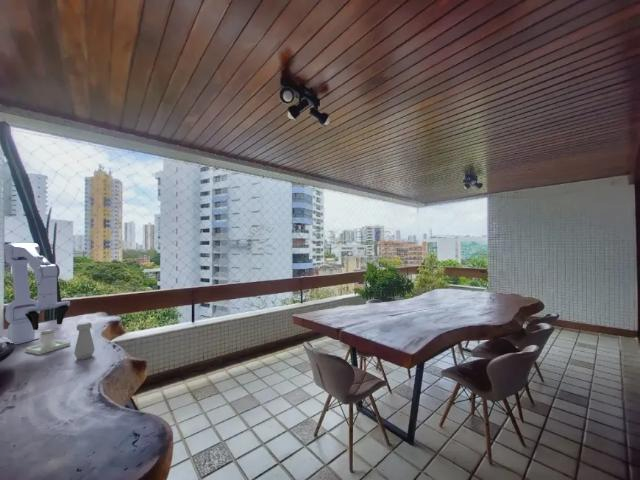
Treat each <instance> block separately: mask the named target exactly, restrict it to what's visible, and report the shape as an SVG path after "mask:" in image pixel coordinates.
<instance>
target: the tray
mask: <svg viewBox="0 0 640 480" xmlns="http://www.w3.org/2000/svg"><path fill="white" fill-rule="evenodd" d="M67 346H68V347H71V342H70V341H66V340H60V339H56V346H54V347H50V348H47V349H43V350H41V345H40V343H39V344H36V345H32V346H29V347H25V348H24V349H25V352H26V353H29V354H33V355H38V356H40V355H43V354H47V353H51V352H54V351H57V350H61V349H64V348H68V347H67Z"/></svg>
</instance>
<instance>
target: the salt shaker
mask: <svg viewBox="0 0 640 480" xmlns="http://www.w3.org/2000/svg"><path fill="white" fill-rule="evenodd" d="M92 327H93V325H92V322H89V321H87V322H86V321H84V322H80V323H78V324H77V325H76V330H77V331H78V336H77V339H76V340H77V341H76V345H75V349H74V353H73V354H74V356H75V357H76V359H77V360H79V361H82V360H86V359H87V360H88V359H90V358H92V357H93V355H94V353H95V345H94V341H93V337H92V333H91V329H92Z"/></svg>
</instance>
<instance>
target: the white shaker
mask: <svg viewBox="0 0 640 480" xmlns="http://www.w3.org/2000/svg"><path fill="white" fill-rule="evenodd" d="M55 330H56V329H54V328H51V329H50V328H49V329H46V330H42V331H40V335H39V341H40V343H39V344H40V345H41V350H43V349H47V348H50V347H54V346H56V340H57V338H56V337H57V336H56V335H57V334H56V331H55Z"/></svg>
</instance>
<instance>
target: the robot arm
mask: <svg viewBox="0 0 640 480" xmlns="http://www.w3.org/2000/svg"><path fill="white" fill-rule="evenodd" d="M40 253H41V251H40V246H39V244H38V243H36V242H33V243H10V242H9V243H7V244H5V246H4V260H5V262H6V263H7V264H10V267H11V272H12V285H13V297H14V300H13V301H11V302H10V303H8V304H7V305H6V306H5V314H4V317H5V321H6V322H7V323H8V327H7V340H8V339H10V340H11V341H12V342H13V343H14V344H13V345H19V344H24V343H27V342H31V341H35V340H36V341H37V340H40V336H39V337H38V336H36V331H38V330H39V319H40V318H39V317H40V314H41V311H44V310H45V311H46V310H50V309H52V310H53V309H54V310H55V312H56V313H55V314H56V325H62V324H63V321H64V318H65V315H66V314H67V312H68V310H69V309H70V308H69V306H71V301H70V300H63V301H58V284H57V283H58V280H57V279H58V278H59V276H60V273H61V271H60V266H59V264H57V263H51V261H49V260H48V258H47V257H45V256H44V255H40ZM28 266H29V267H30V268H31V269H32V270H33V272H34V273H33V274H34V278H35V284H36V285H37V300H35V299H33V298H31V293H30V284H29V270H28Z"/></svg>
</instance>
